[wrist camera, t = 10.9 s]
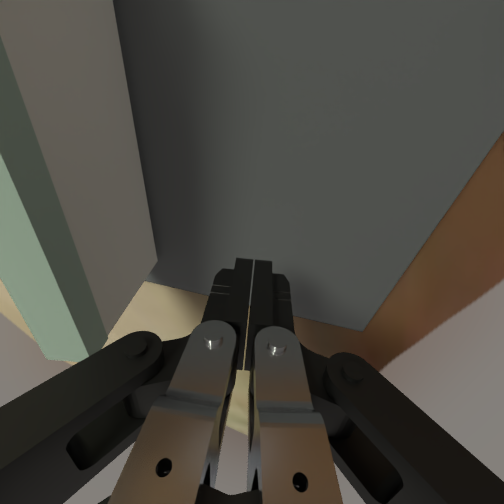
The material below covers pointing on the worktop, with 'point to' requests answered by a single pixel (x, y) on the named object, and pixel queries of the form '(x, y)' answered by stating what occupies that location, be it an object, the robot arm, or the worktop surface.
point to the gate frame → (308, 135)
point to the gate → (69, 175)
